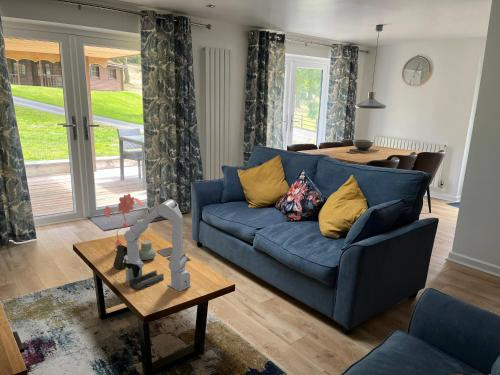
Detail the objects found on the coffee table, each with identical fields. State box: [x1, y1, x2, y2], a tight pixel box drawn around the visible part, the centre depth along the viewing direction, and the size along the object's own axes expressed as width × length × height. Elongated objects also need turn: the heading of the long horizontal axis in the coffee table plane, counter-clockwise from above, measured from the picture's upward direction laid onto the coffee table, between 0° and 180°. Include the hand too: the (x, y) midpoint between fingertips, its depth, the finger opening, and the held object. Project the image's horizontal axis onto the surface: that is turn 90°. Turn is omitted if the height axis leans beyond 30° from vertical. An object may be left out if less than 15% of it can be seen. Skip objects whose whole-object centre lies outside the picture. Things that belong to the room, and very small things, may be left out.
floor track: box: [128, 269, 165, 291], centre depth 193 cm, size 7×16×3 cm, turn 141°
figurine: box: [103, 193, 145, 251], centre depth 231 cm, size 15×26×35 cm, turn 145°
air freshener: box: [139, 240, 157, 261], centre depth 221 cm, size 11×8×10 cm
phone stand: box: [112, 244, 128, 271], centre depth 210 cm, size 9×6×12 cm, turn 141°
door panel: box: [125, 267, 143, 283], centre depth 196 cm, size 2×8×6 cm, turn 141°
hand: (134, 275), depth 196 cm, fingers closed on door panel, 2 cm apart
